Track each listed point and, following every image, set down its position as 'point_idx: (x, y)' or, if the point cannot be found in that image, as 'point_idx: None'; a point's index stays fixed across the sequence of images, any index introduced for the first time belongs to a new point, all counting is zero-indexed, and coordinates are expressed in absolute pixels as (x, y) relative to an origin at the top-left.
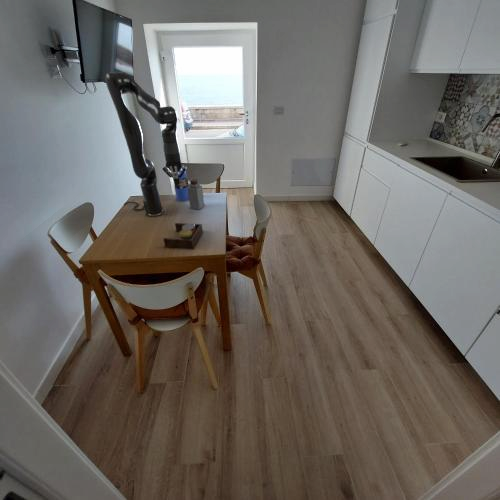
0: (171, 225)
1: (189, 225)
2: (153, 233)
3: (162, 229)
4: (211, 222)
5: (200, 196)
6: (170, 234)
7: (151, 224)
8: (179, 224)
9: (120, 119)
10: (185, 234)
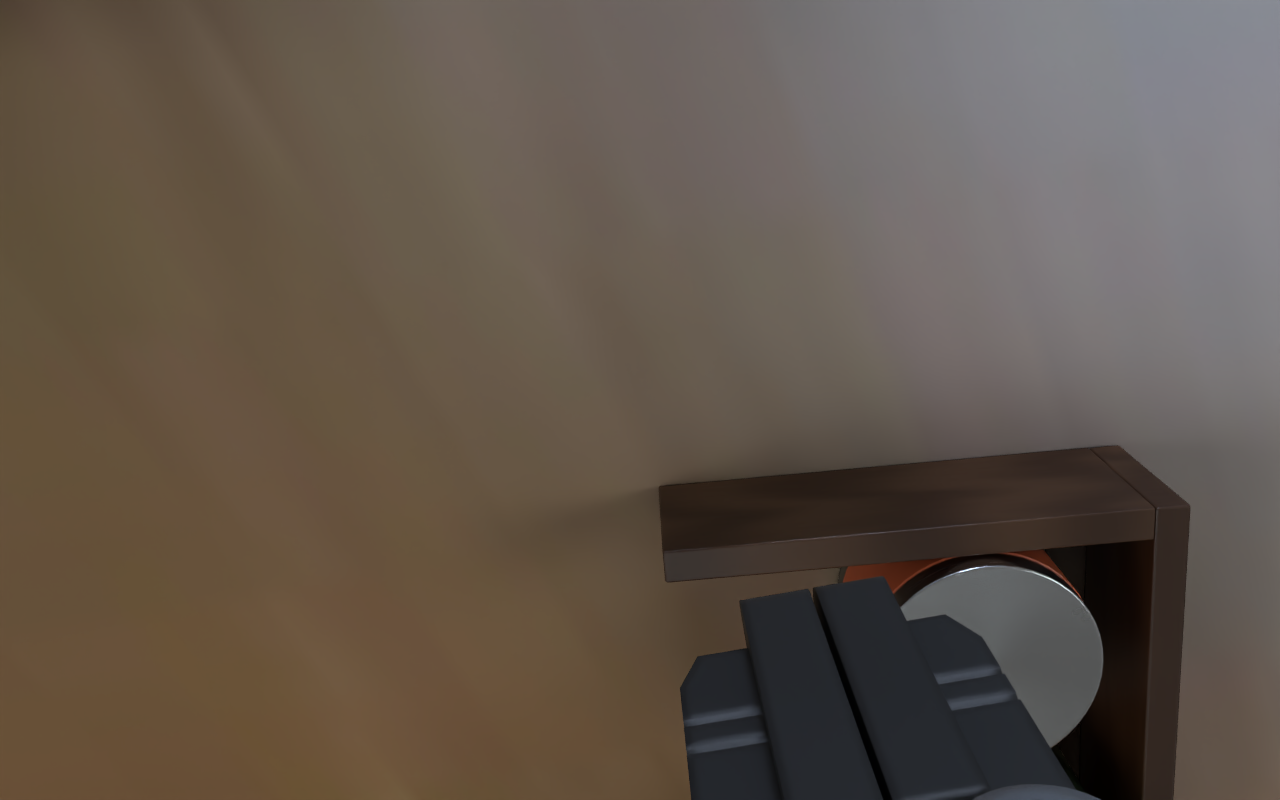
0: (462, 332)
1: (991, 631)
2: (309, 630)
3: (381, 491)
4: (1198, 69)
5: None
6: (602, 607)
7: (70, 368)
8: (754, 570)
9: None
10: None
